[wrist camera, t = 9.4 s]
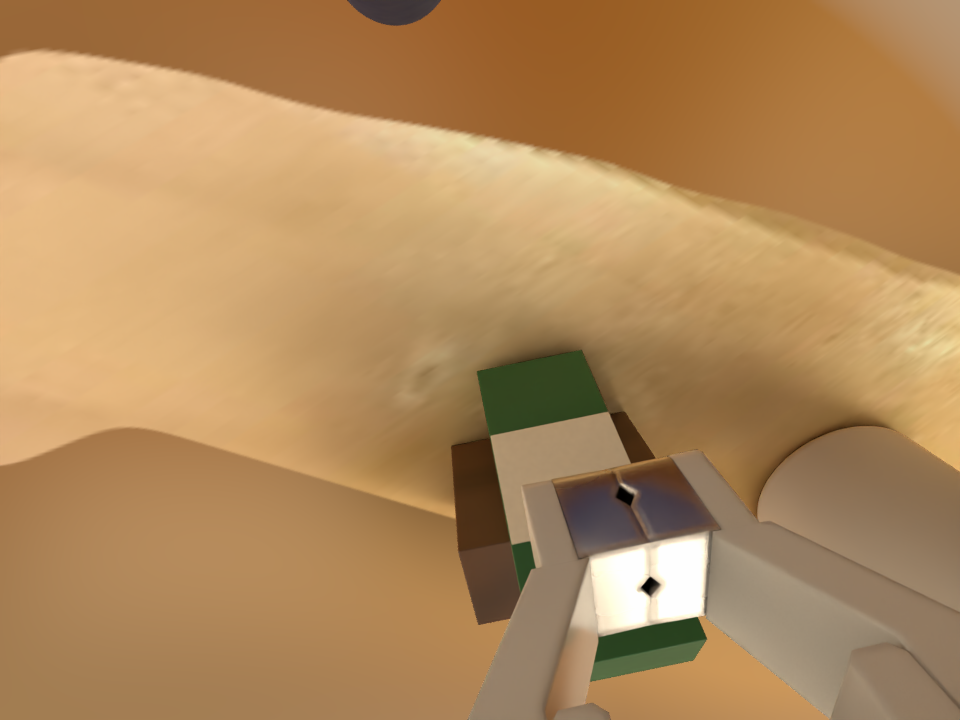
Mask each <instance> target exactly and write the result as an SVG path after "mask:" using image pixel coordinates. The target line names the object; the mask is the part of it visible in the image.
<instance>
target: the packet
mask: <svg viewBox="0 0 960 720" xmlns="http://www.w3.org/2000/svg"><path fill="white" fill-rule="evenodd" d="M477 375H478V380H479V385H480V390H481V395H482V400H483V406H484V411H485V416H486V421H487V426H488V431H489V436H490V441H491V446H492V451H493V457H494V462H495V467H496V472H497V477H498V482H499V487H500V492H501V497H502V502H503V508H504V513H505V518H506V523H507V528H508V533H509V538H510V543H511V548H512V553H513V559H514V564H515V569H516V574H517V579H518V584H519V589H520V594H521V593H522V590H523V588H524V586H525V583H526V581H527V579H528V576H529V574H530V571H531V569H535V568H536V566H535V562H534V557H533V551H532V546H531V541H530V536H529V531H528V525H527V519H526V514H525V508H524V502H523V497H522V491H521V485H524V484H530V483H536V482H542V481H548V480H550V481H551V479H554V478H560V477H566V476H571V475H577V474H582V473H588V472H593V471H599V470H605V469H608V468H613V467H618V466H623V465H627V464H631V462H630V460H629V458H628V455H627V453H626V451H625V449H624V446H623V444H622V442H621V439H620V437H619V435H618V432H617V430H616V428H615V426H614V423H613V421H612V419H611V416H610V414H609V412H608V409H607V407H606V405H605V403H604V400H603V398H602V396H601V393H600V391H599V389H598V386H597V384H596V382H595V379H594V377H593V375H592V373H591V370H590V368H589V366H588V363H587V361H586V359H585V356H584V354H583V352H582V350H579V351H574V352H569V353H564V354H559V355H554V356H549V357H544V358H539V359H534V360H530V361H525V362H520V363H515V364H510V365H505V366H500V367H495V368H490V369H486V370H481V371H477ZM706 640H707V637H706V635H705V633H704V630H703V628H702V626H701V624H700V621H699V619H698V617H693V618H688V619H682V620H676V621H671V622H665V623H659V624H654V625H648V626H644V627H640V628H636V629H632V630H627V631H623V632H619V633H615V634H610V635H606V636H602V637H598V646H597V650H596V655H595V660H594V664H593V669H592V674H591V678H590V682H591V681H596V680H601V679H606V678H611V677H616V676H621V675H625V674H630V673H635V672H640V671H645V670H650V669H654V668H659V667H664V666H669V665H673V664H678V663H683V662H688V661H693V660H694V659H695V657H696V656H697V654H698V652H699V651H700V649H701V648H702V646H703V645H704V643H705V642H706Z"/></svg>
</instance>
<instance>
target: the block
mask: <svg viewBox="0 0 960 720" xmlns="http://www.w3.org/2000/svg"><path fill="white" fill-rule="evenodd" d="M610 416H611V419H612V421H613V423H614V426H615V428H616V430H617V432H618V435H619V437H620V439H621V442H622V444H623V446H624V449H625V451H626V453H627V455H628V458H629V460H630V462H631V464H632V463H637V462H641V461H646V460H651V459H655V456H654V455H653V453H652V452H651V450H650V449H649V447H648V446H647V444H646V443H645V441H644V440H643V438H642V437H641V435H640V434H639V432H638V431H637V429H636V428H635V426H634V425H633V423H632V422H631V420H630V419H629V417H628V416H627V414H626V413H625V412H620V413H615V414H610ZM451 452H452V467H453V482H454V497H455V512H456V526H457V542H458V553H459V557H460V560H461V564H462V567H463V571H464V575H465V579H466V582H467V585H468V589H469V593H470V597H471V600H472V604H473V608H474V611H475V615H476V618H477V622H478V624H479V625H481V624H486V623H491V622H495V621H500V620H506V619H511V616H512V614H513V612H514V609H515V607H516V604H517V602H518V600H519V597H520V595H521V594H520V589H519V584H518V579H517V574H516V569H515V564H514V559H513V553H512V548H511V543H510V538H509V533H508V528H507V523H506V518H505V513H504V508H503V502H502V497H501V492H500V487H499V482H498V477H497V472H496V467H495V462H494V457H493V451H492V446H491V441H490V439H485V440H480V441H475V442H470V443H465V444H460V445H455V446H451Z"/></svg>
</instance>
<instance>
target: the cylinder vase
mask: <svg viewBox="0 0 960 720" xmlns="http://www.w3.org/2000/svg"><path fill="white" fill-rule="evenodd" d="M757 517H758V521H759V522H764V521H772V522H774V523H776V524H778V525H780V526H782V527H784V528H786V529H788V530H790V531H792V532H794V533H797V534H799V535H801V536H803V537H805V538H807V539H809V540H811V541H813V542H815V543H817V544H819V545H821V546H824V547H826V548H828V549H830V550H832V551H834V552H836V553H838V554H840V555H842V556H844V557H846V558H848V559H851V560H853V561H855V562H857V563H859V564H861V565H863V566H865V567H867V568H869V569H871V570H873V571H875V572H877V573H880V574H882V575H884V576H886V577H888V578H890V579H892V580H894V581H896V582H898V583H900V584H902V585H904V586H907V587H909V588H911V589H913V590H915V591H917V592H919V593H921V594H923V595H925V596H927V597H929V598H931V599H933V600H936V601H938V602H940V603H942V604H944V605H946V606H948V607H950V608H952V609H954V610H956V611H958V612H960V472H959V471H958V470H956V469H955V468H953V467H952V466H950V465H949V464H947V463H946V462H944V461H943V460H941V459H940V458H938V457H937V456H935V455H934V454H932V453H931V452H929V451H928V450H926V449H925V448H923V447H922V446H920V445H919V444H917V443H915V442H914V441H912V440H911V439H909V438H908V437H906V436H905V435H903V434H901V433H899V432H897V431H895V430H892V429H888V428H884V427H878V426H855V427H849V428H844V429H840V430H836V431H833V432H830V433H827V434H825V435H822V436H820V437H818V438H816V439H814V440H812V441H810V442H808V443H806V444H805V445H803V446H802V447H800V448H799V449H797V450H796V451H795V452H793V453H792V454H791V455H789V456H788V457H787V458H786V459H785V460H784V461H783V462H782V463H781V464H780V465H779V466H778V467H777V468H776V469H775V471H774V472H773V473H772V474H771V476H770V477H769V479H768V480H767V482H766V484H765V486H764V487H763V490H762V492H761V495H760V498H759V502H758V508H757Z"/></svg>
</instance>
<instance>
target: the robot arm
mask: <svg viewBox="0 0 960 720" xmlns="http://www.w3.org/2000/svg"><path fill="white" fill-rule="evenodd" d="M521 491H522V497H523V502H524V508H525V514H526V519H527V525H528V531H529V536H530V541H531V546H532V551H533V557H534V562H535V566H536V568H535V569H531V571H530V574H529V576H528V579H527V581H526V583H525V586H524V588H523V590H522V593H521V595H520V597H519V600H518V602H517V604H516V607H515V609H514V612H513V614H512V616H511V619H510V621H509V623H508V626H507V628H506V630H505V633H504V635H503V638H502V640H501V642H500V644H499V647H498V649H497V652H496V654H495V656H494V659H493V661H492V663H491V666H490V668H489V670H488V673H487V675H486V677H485V680H484V682H483V685H482V687H481V690H480V692H479V694H478V696H477V699H476V701H475V703H474V706H473V708H472V711H471V713H470V715H469V717H468V720H611V719H610V715H609V712H607V711H605V710H604V709H602V708H600V707H599V706H597V705H596V704H594V703H589V704H585V701H586V697H587V692H588V687H589V683H590V678H591V674H592V669H593V664H594V660H595V655H596V650H597V646H598V637H602V636H606V635H610V634H615V633H619V632H623V631H627V630H632V629H636V628H640V627H644V626H648V625H654V624H659V623H665V622H671V621H676V620H682V619H688V618H693V617H698V616H705V615H706V619H707V620H709V621H710V622H711V623H712V624H714V625H715V626H716V627H717V628H718V629H720V630H721V631H722V632H723V633H725V634H726V635H727V636H728V637H730V638H731V639H732V640H733V641H735V642H736V643H737V644H738V645H740V646H741V647H742V648H743V649H744V650H746V651H747V652H748V653H749V654H750V655H752V656H753V657H754V658H755V659H757V660H758V661H759V662H760V663H762V664H763V665H764V666H765V667H767V668H768V669H769V670H770V671H771V672H773V673H774V674H775V675H776V676H778V677H779V678H780V679H781V680H783V681H784V682H785V683H786V684H787V685H789V686H790V687H791V688H792V689H793V690H795V691H796V692H797V693H798V694H800V695H801V696H802V697H803V698H805V699H806V700H807V701H808V702H810V703H811V704H812V705H813V706H815V707H816V708H817V709H818V710H819V711H821V712H822V713H823V714H824V715H826V716H827V717H828V718H829V719H830V720H960V612H958V611H956V610H954V609H952V608H950V607H948V606H946V605H944V604H942V603H940V602H938V601H936V600H933V599H931V598H929V597H927V596H925V595H923V594H921V593H919V592H917V591H915V590H913V589H911V588H909V587H907V586H904V585H902V584H900V583H898V582H896V581H894V580H892V579H890V578H888V577H886V576H884V575H882V574H880V573H877V572H875V571H873V570H871V569H869V568H867V567H865V566H863V565H861V564H859V563H857V562H855V561H853V560H851V559H848V558H846V557H844V556H842V555H840V554H838V553H836V552H834V551H832V550H830V549H828V548H826V547H824V546H821V545H819V544H817V543H815V542H813V541H811V540H809V539H807V538H805V537H803V536H801V535H799V534H797V533H794V532H792V531H790V530H788V529H786V528H784V527H782V526H780V525H778V524H776V523H774V522H772V521H764V522H759V521H758V520H757V518H756V517H755V516H754V515H753V513H752V512H751V511H750V510H749V509H748V507H747V506H746V505H745V504H744V502H743V501H742V500H741V499H740V497H739V496H738V495H737V494H736V493H735V491H734V490H733V489H732V488H731V486H730V485H729V484H728V483H727V481H726V480H725V479H724V478H723V477H722V475H721V474H720V473H719V472H718V470H717V469H716V468H715V467H714V465H713V464H712V463H711V462H710V461H709V459H708V458H707V457H706V456H705V454H704V453H703V452H701V451H699V450H697V449H696V450H691V451H686V452H682V453H677V454H673V455H668V456H667V457H660V458H655V459H651V460H646V461H641V462H637V463H632V464H627V465H623V466H618V467H613V468H608V469H605V470H599V471H593V472H588V473H582V474H577V475H571V476H566V477H560V478H554V479H551V481H550V480H548V481H542V482H536V483H530V484H524V485H521Z"/></svg>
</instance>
